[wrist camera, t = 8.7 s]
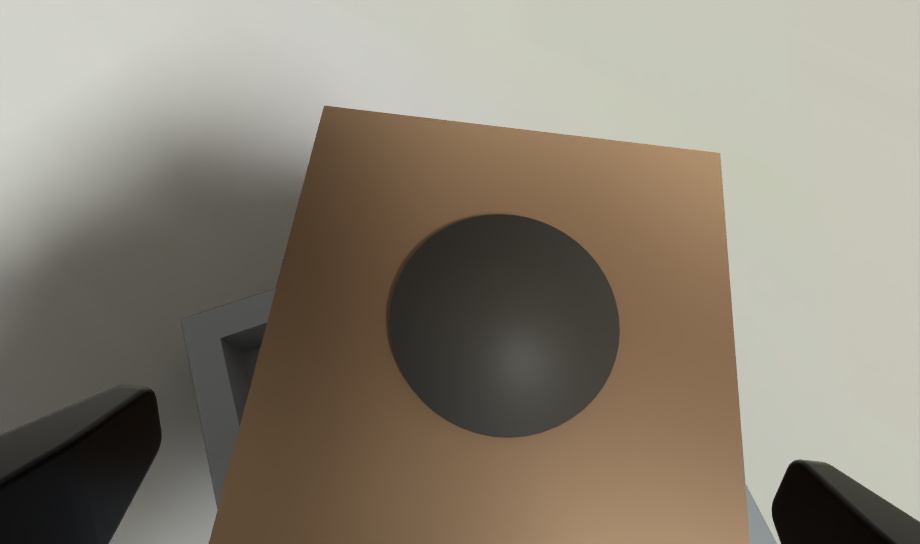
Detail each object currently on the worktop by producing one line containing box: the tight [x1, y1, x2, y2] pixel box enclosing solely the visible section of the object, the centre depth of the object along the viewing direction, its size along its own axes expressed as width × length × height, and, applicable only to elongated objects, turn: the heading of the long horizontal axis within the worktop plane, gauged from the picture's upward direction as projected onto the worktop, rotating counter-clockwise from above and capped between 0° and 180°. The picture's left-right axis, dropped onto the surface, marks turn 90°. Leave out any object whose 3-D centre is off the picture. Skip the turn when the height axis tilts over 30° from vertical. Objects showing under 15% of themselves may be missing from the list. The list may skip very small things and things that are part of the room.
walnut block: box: [209, 106, 750, 544], centre depth 11 cm, size 4×4×13 cm
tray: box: [181, 289, 777, 544], centre depth 16 cm, size 16×14×3 cm
